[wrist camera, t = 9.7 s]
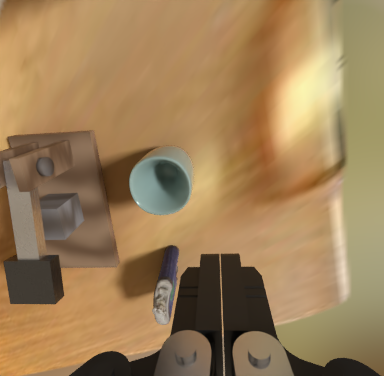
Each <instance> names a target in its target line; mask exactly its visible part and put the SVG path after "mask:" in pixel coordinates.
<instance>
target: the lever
mask: <svg viewBox="0 0 384 376" xmlns="http://www.w3.org/2000/svg"><path fill="white" fill-rule="evenodd" d="M3 166H4V173H5V179H6V186H7V192H8V199H9V205H10V212H11V218H12V225H13V231H14V238H15V244H16V251H17V255H15V256H13V257H11V258H9V259H7V260H5V261H4V267H5V273H6V279H7V285H8V292H9V298H10V304H56V303H57V302H58V301H59V300H60V299H61V298H62V297H63V296H64V291H63V283H62V275H61V268H60V260H59V255H47V251H46V244H45V236H44V229H43V222H42V215H41V207H40V200H39V193H38V187H37V188H35V189H33V190H31V191H30V192H19V189H18V186H17V183H16V180H15V176H14V173H13V170H12V167H11V164H10V161H3Z"/></svg>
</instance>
